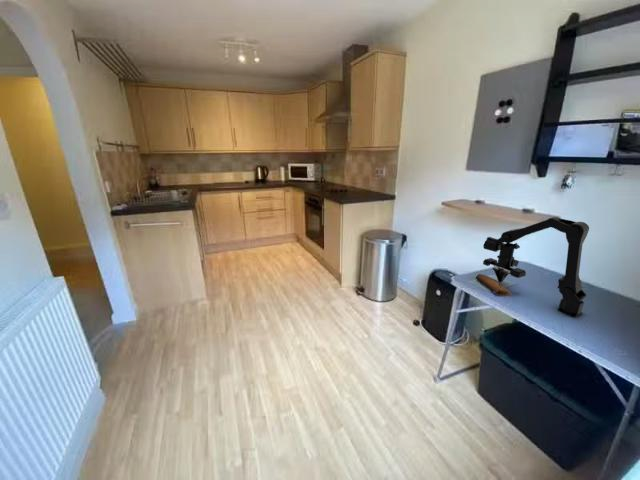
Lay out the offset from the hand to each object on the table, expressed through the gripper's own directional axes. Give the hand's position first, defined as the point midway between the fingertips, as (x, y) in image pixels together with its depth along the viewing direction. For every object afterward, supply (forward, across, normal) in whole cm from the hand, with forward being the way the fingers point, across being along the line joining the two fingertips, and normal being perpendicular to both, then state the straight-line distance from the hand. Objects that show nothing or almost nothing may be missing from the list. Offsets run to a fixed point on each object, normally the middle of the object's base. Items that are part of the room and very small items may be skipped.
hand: (500, 282), depth 142 cm
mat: (+2, +5, 0) cm, 5 cm away
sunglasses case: (+3, +1, +4) cm, 5 cm away
